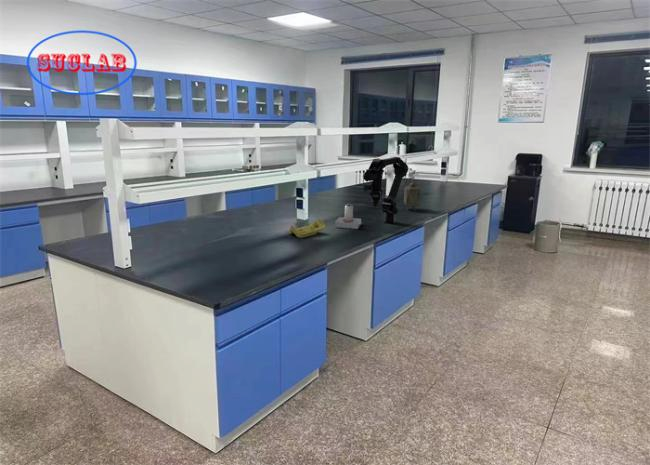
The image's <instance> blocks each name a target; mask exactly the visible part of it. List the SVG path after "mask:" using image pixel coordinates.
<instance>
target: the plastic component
mask: <svg viewBox="0 0 650 465" xmlns="http://www.w3.org/2000/svg"><path fill="white" fill-rule="evenodd" d="M325 228H326V224H325V222H324V221H323V220H322V219H321V218H319V219H317V220H316V221H314V222H311V223H310V224H309V225H305V226H302V227H298V228H296V227H295V226H294V225H291V226H290V228H289V230H288V233H289V234H290V235H295V236H296V237H297V238H300V239H302V238H306V237H310V236H315V235H317V234H318V233H319V232H322V231H323V230H324V229H325Z"/></svg>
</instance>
